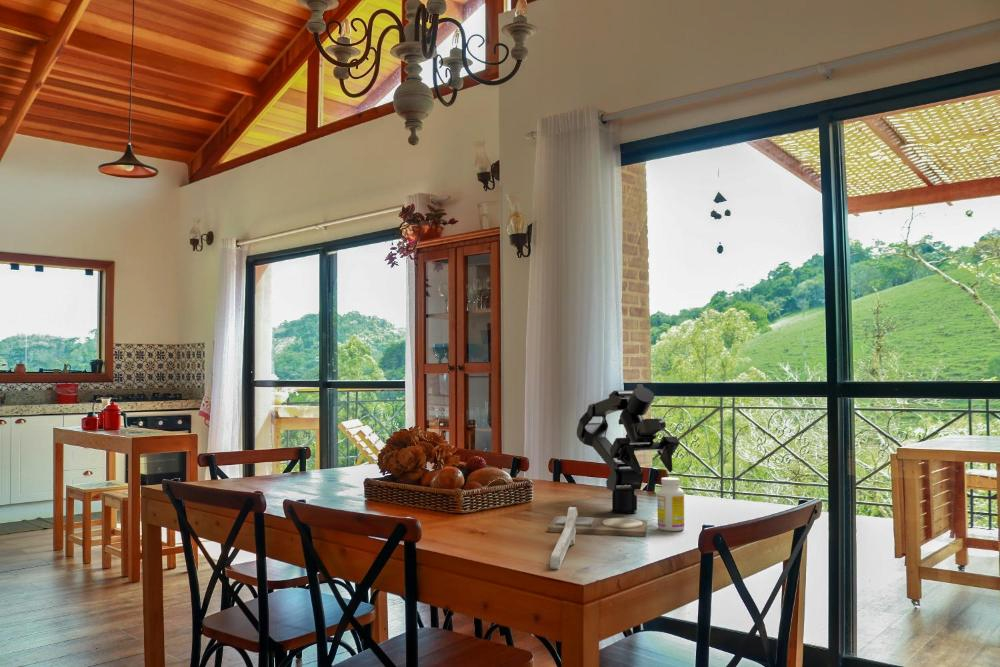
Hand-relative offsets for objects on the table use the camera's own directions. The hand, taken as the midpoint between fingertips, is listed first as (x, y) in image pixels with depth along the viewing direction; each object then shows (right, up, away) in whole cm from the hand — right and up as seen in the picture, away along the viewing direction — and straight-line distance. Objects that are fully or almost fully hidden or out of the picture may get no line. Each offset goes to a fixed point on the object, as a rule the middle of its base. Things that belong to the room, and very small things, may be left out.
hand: (655, 472), depth 219 cm
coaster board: (-16, -13, -7) cm, 22 cm away
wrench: (-27, -13, -35) cm, 45 cm away
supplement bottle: (+2, -14, -8) cm, 16 cm away
